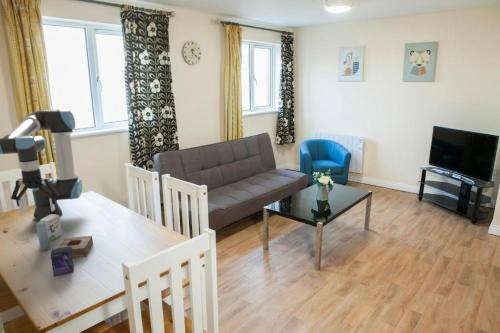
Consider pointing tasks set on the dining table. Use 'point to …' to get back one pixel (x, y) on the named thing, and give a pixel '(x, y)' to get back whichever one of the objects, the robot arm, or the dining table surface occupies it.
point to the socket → (78, 245)
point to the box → (62, 260)
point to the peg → (43, 236)
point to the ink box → (52, 226)
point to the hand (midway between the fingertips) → (38, 211)
